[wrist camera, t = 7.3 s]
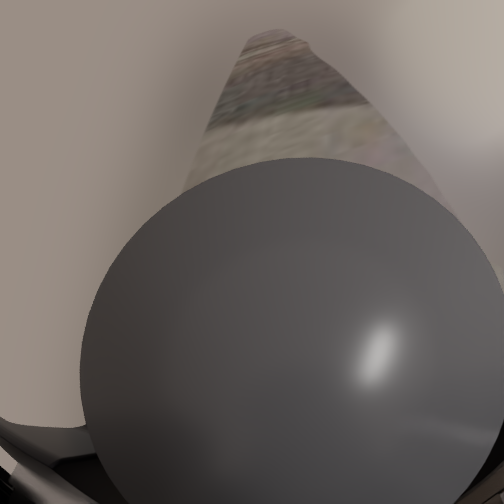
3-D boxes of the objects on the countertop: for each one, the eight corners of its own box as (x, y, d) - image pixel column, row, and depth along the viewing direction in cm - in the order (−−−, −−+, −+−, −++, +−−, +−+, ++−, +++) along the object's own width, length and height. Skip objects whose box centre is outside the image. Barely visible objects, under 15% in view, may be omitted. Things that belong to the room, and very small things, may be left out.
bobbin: (341, 422, 13) (474, 531, 1) (236, 416, 14) (80, 512, 2) (347, 322, 15) (475, 175, 3) (246, 318, 16) (133, 166, 4)
